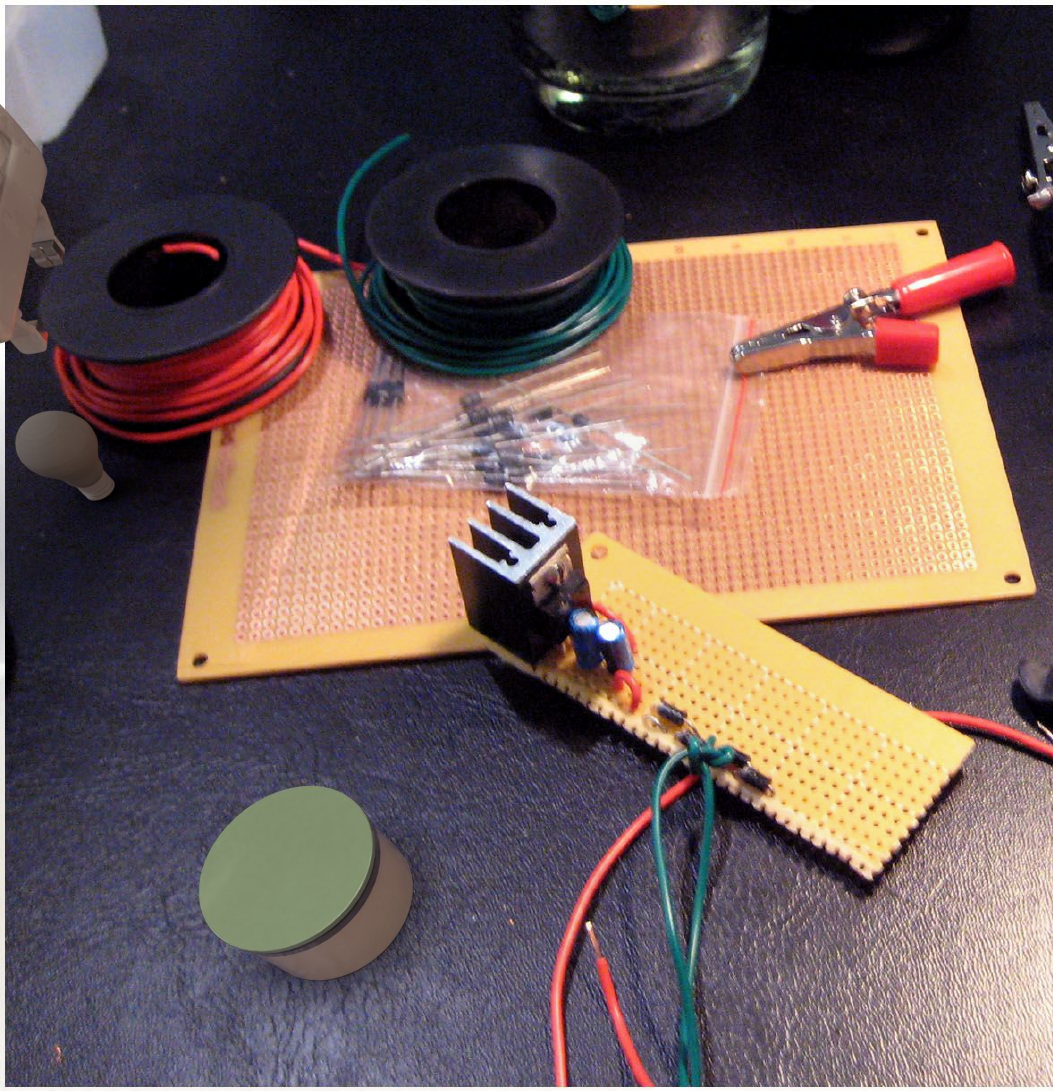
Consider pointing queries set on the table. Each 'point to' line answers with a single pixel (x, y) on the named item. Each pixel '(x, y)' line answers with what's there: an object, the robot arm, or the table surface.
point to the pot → (306, 884)
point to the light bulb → (63, 452)
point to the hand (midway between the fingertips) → (46, 302)
